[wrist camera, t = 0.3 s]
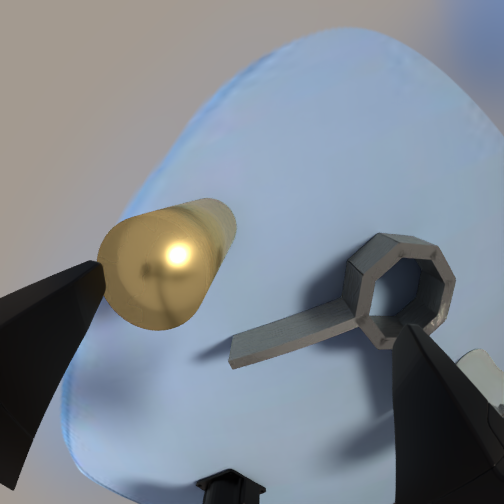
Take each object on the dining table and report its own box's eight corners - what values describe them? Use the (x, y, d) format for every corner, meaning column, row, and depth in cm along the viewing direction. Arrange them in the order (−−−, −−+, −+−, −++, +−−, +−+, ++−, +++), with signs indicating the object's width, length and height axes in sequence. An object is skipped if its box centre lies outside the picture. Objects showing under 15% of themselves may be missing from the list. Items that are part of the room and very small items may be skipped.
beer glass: (433, 383, 26) (500, 481, 11) (477, 333, 24) (564, 413, 10) (458, 404, 26) (516, 486, 12) (497, 360, 25) (569, 431, 10)
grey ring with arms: (345, 439, 27) (352, 465, 23) (230, 337, 25) (225, 363, 21) (471, 343, 24) (491, 361, 20) (392, 203, 22) (415, 208, 18)
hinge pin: (206, 267, 24) (151, 349, 11) (168, 225, 23) (78, 268, 11) (248, 230, 23) (232, 283, 11) (209, 186, 22) (147, 189, 10)
